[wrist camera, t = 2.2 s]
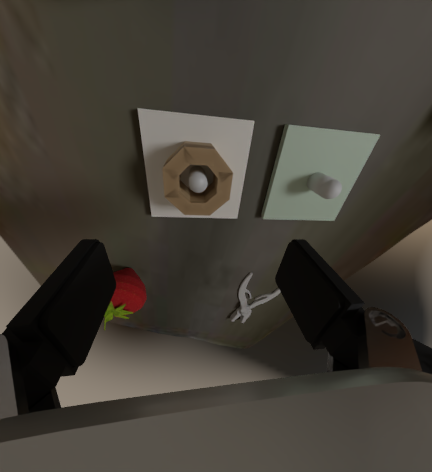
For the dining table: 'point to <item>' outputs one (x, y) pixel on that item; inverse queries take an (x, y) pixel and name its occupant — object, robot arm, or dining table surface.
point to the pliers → (245, 308)
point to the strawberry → (126, 295)
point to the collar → (187, 198)
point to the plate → (315, 172)
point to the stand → (194, 176)
